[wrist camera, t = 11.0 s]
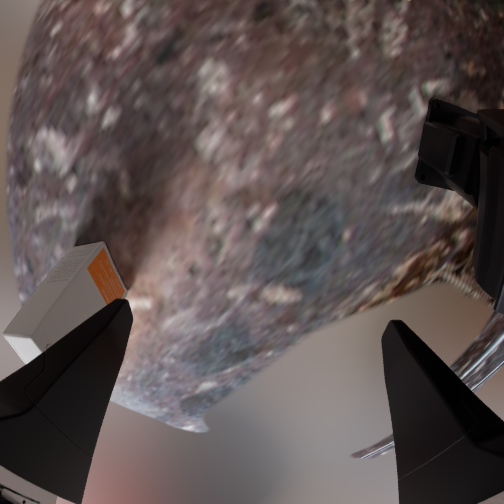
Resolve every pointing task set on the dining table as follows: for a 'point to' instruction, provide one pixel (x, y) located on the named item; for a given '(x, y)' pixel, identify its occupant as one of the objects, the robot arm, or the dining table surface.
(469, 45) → the dining table surface
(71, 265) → the skincare box
